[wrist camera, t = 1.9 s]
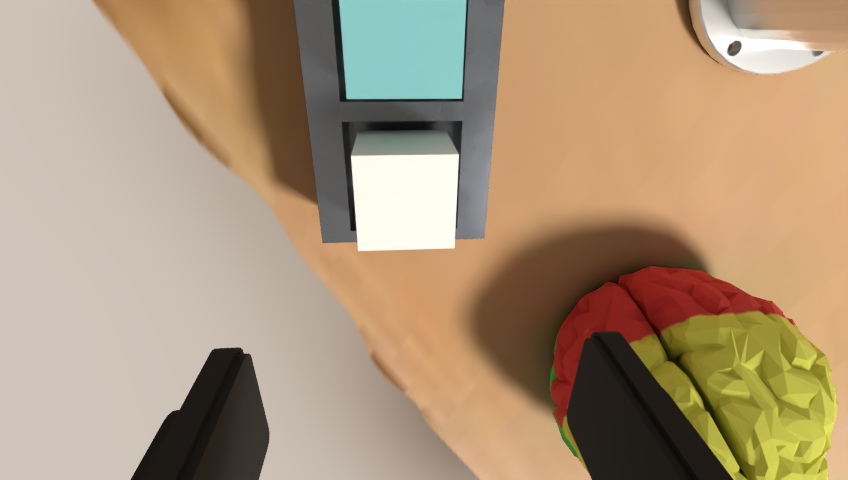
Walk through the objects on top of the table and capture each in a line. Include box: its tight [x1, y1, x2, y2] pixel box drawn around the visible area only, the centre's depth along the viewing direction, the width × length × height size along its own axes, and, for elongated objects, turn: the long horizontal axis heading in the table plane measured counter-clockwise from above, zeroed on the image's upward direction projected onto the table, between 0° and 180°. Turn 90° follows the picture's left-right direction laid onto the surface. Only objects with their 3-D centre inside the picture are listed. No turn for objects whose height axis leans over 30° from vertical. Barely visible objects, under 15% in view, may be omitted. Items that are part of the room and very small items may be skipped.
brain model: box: [550, 266, 839, 480], centre depth 32 cm, size 24×19×15 cm
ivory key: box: [351, 130, 459, 251], centre depth 22 cm, size 5×5×5 cm
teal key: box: [339, 0, 466, 99], centre depth 19 cm, size 5×5×5 cm
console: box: [293, 0, 505, 243], centre depth 22 cm, size 10×23×5 cm, turn 0°
